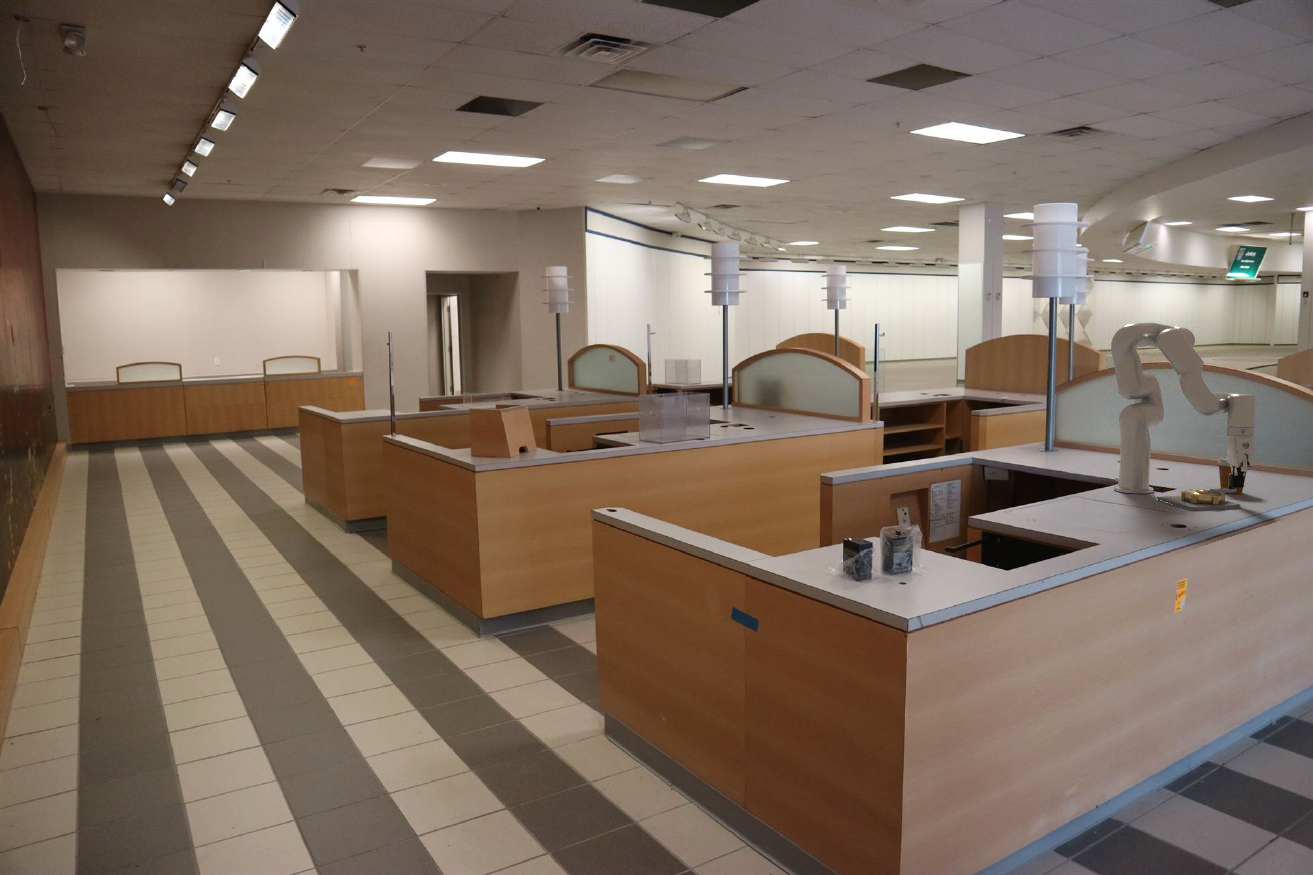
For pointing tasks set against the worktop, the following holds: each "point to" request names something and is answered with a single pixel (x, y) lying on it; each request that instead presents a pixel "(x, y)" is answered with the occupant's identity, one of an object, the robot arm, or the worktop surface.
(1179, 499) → the base plate
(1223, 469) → the disposable coffee cup
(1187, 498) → the gold domed lever dial
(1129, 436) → the robot arm
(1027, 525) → the worktop surface
